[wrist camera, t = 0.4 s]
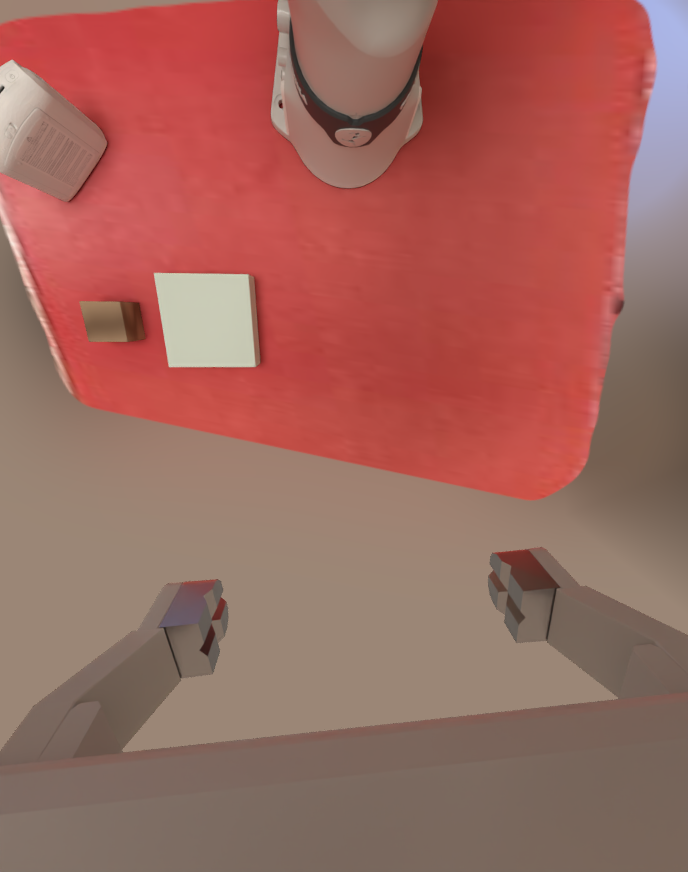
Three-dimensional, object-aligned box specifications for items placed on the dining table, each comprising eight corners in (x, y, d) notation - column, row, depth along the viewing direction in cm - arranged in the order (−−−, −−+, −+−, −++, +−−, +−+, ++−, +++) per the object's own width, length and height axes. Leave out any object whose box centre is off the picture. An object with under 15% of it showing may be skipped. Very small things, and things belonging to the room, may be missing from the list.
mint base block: (167, 276, 48) (153, 273, 44) (254, 277, 49) (248, 274, 45) (180, 363, 52) (169, 367, 48) (260, 363, 53) (255, 366, 49)
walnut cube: (103, 302, 49) (79, 301, 44) (139, 302, 49) (119, 301, 45) (110, 338, 51) (89, 341, 46) (145, 339, 51) (127, 341, 46)
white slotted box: (83, 110, 42) (-10, 32, 30) (115, 141, 43) (37, 78, 31) (39, 181, 44) (-64, 134, 32) (70, 209, 45) (-18, 173, 33)
